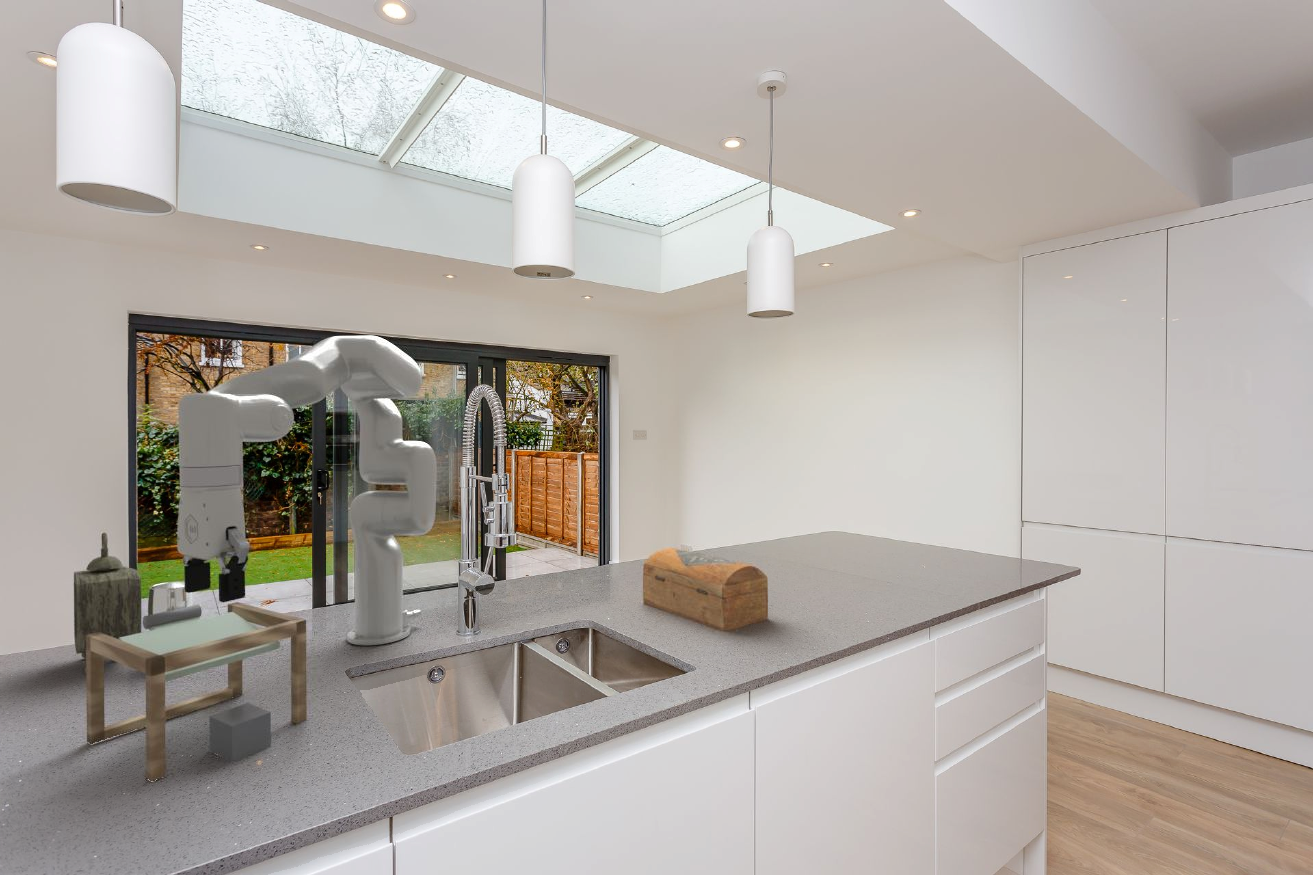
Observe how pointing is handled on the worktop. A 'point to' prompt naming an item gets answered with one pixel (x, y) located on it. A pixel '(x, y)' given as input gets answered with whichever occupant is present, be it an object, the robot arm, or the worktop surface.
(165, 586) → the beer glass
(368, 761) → the worktop surface
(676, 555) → the wooden box
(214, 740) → the stone
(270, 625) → the frame
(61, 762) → the worktop surface
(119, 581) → the tabletop clock
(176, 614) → the trapdoor
